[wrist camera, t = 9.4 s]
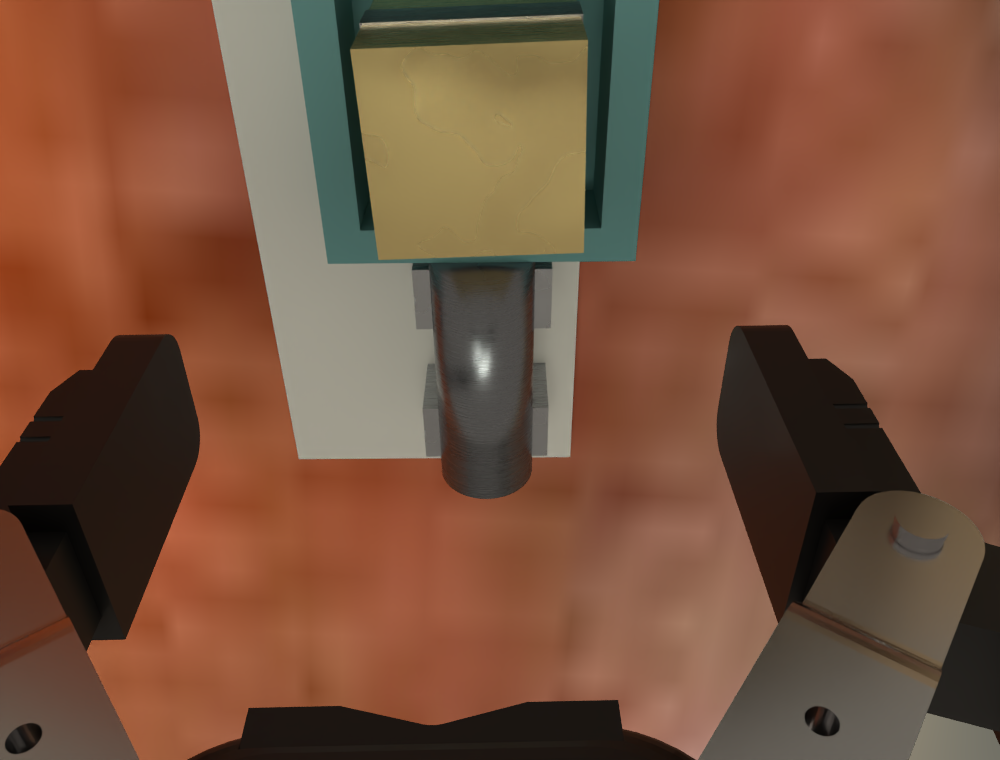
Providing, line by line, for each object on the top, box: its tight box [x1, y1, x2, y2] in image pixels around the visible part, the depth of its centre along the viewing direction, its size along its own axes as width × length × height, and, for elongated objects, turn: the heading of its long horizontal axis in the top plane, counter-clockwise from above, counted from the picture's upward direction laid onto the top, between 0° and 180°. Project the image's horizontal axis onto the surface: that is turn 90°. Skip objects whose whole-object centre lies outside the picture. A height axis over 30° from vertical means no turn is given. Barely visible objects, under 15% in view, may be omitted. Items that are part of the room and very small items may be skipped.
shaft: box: [412, 262, 553, 499], centre depth 28 cm, size 8×4×4 cm, turn 1°
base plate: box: [212, 0, 580, 459], centre depth 25 cm, size 10×28×1 cm, turn 1°
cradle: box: [291, 0, 659, 264], centre depth 23 cm, size 8×8×3 cm
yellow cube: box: [350, 0, 588, 260], centre depth 22 cm, size 5×5×5 cm
